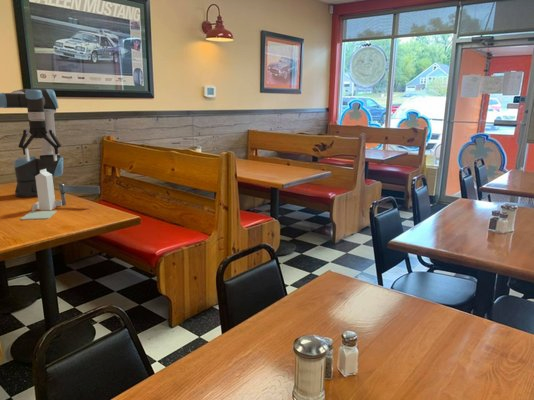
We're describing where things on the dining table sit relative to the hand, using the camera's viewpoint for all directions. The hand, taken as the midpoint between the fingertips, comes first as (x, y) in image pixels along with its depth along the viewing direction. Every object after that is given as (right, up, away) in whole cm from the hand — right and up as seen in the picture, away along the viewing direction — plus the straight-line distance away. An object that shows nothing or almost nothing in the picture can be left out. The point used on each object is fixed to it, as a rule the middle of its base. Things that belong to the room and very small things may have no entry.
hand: (41, 160), depth 219 cm
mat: (+2, -29, -6) cm, 30 cm away
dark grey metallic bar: (+14, -17, +13) cm, 26 cm away
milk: (0, -26, +7) cm, 27 cm away
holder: (-1, -25, +9) cm, 27 cm away
